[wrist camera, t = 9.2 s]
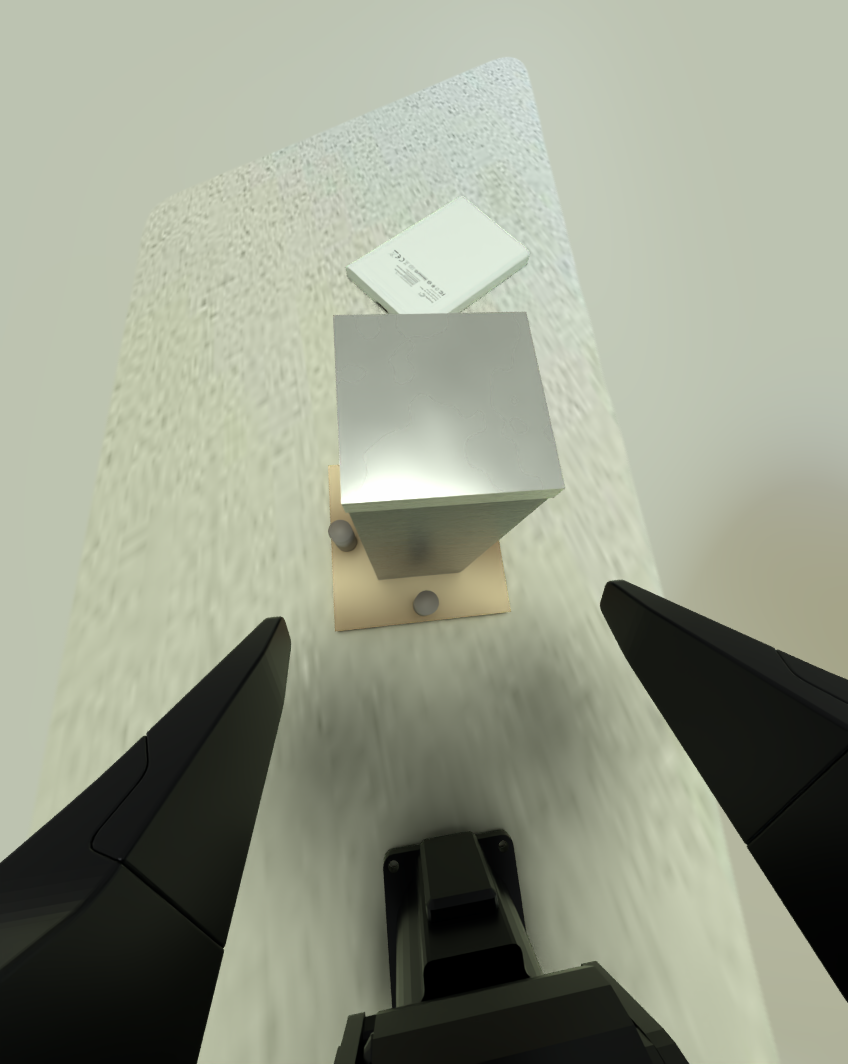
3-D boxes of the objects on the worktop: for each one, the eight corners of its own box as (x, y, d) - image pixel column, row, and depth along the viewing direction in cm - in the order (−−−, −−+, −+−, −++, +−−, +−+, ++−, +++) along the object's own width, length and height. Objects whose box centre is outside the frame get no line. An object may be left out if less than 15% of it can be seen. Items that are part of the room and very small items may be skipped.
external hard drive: (524, 271, 29) (417, 348, 26) (456, 215, 30) (347, 282, 27) (531, 251, 27) (419, 330, 24) (459, 192, 29) (344, 261, 26)
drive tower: (460, 573, 20) (565, 488, 8) (377, 581, 20) (341, 504, 7) (451, 495, 21) (526, 311, 9) (372, 500, 21) (333, 314, 8)
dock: (505, 612, 21) (526, 609, 17) (338, 631, 20) (325, 632, 16) (480, 462, 23) (494, 434, 20) (331, 472, 22) (319, 445, 19)
